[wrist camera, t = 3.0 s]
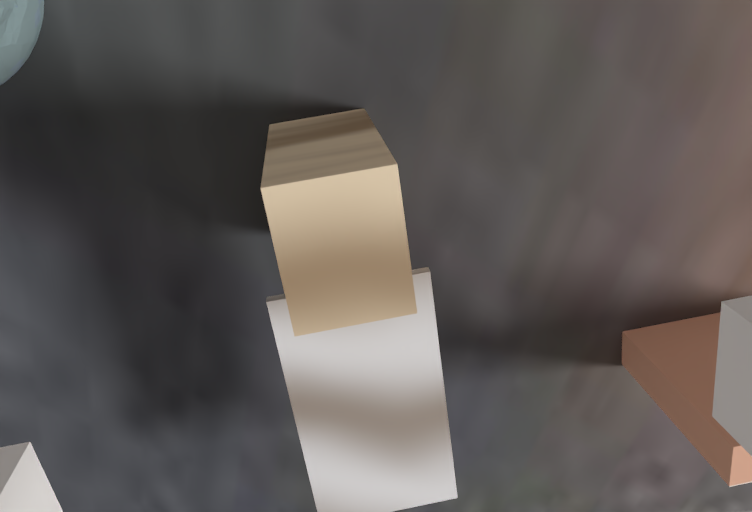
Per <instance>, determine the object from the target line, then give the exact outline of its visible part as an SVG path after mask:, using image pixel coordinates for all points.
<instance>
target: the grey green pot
mask: <svg viewBox="0 0 752 512" xmlns="http://www.w3.org/2000/svg"><path fill="white" fill-rule="evenodd" d="M43 15H44V0H0V85H1V84H3V83H5V82H6V81H7V80H8V79H9V78H11V77H12V76H13V75H14V74H15V73H16V72H17V71H18V70H19V69H20V68H21V66H22V65H23V64H24V63H25V62H26V60H27V59H28V58H29V56H30V54H31V52H32V50H33V48H34V46H35V44H36V42H37V40H38V36H39V33H40V29H41V26H42V20H43Z"/></svg>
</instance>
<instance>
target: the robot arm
mask: <svg viewBox="0 0 752 512" xmlns="http://www.w3.org/2000/svg"><path fill="white" fill-rule="evenodd" d="M712 417H713V418H714V419H715V420H716V421H717V422H718V423H719V424H720V425H721V426H722V427H723V428H724V429H725V430H726V431H727V432H728V433H729V434H730V435H731V436H732V437H733V438H734V439H735V440H736V441H737V442H738V443H739V444H740V445H741V446H742V447H743V448H744V449H745V450H746V451H747V452H748V453H749V454H750V455H751V456H752V295H751V296H746V297H741V298H736V299H731V300H726V301H721V313H720V325H719V337H718V350H717V362H716V374H715V386H714V398H713V410H712ZM0 512H63V511H62V509H61V506H60V504H59V502H58V500H57V498H56V496H55V494H54V492H53V490H52V487H51V485H50V483H49V481H48V479H47V477H46V475H45V473H44V470H43V468H42V466H41V464H40V462H39V460H38V458H37V456H36V454H35V451H34V449H33V447H32V445H31V443H30V442H26V443H21V444H16V445H11V446H6V447H1V448H0Z"/></svg>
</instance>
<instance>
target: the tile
mask: <svg viewBox="0 0 752 512" xmlns="http://www.w3.org/2000/svg"><path fill="white" fill-rule="evenodd" d="M720 313H721V312H720ZM720 313H715V314H710V315H705V316H699V317H694V318H689V319H684V320H679V321H674V322H669V323H664V324H659V325H653V326H648V327H643V328H638V329H633V330H628V331H623V332H622V365H623V366H624V367H625V368H626V369H627V370H628V371H629V373H630V374H631V375H632V376H633V377H634V378H635V379H636V381H637V382H638V383H639V384H640V385H641V386H642V387H643V389H644V390H645V391H646V392H647V393H648V394H649V395H650V397H651V398H652V399H653V400H654V401H655V402H656V403H657V405H658V406H659V407H660V408H661V409H662V410H663V411H664V413H665V414H666V415H667V416H668V417H669V418H670V419H671V421H672V422H673V423H674V424H675V425H676V426H677V427H678V428H679V430H680V431H681V432H682V433H683V434H684V435H685V436H686V438H687V439H688V440H689V441H690V442H691V443H692V444H693V446H694V447H695V448H696V449H697V450H698V451H699V452H700V454H701V455H702V456H703V457H704V458H705V459H706V460H707V462H708V463H709V464H710V465H711V466H712V467H713V468H714V470H715V471H716V472H717V473H718V474H719V475H720V476H721V478H722V479H723V480H724V481H725V482H726V483H727V484H728V486H729V487H731V486H736V485H740V484H745V483H750V482H752V456H751V455H750V454H749V453H748V452H747V451H746V450H745V449H744V448H743V447H742V446H741V445H740V444H739V443H738V442H737V441H736V440H735V439H734V438H733V437H732V436H731V435H730V434H729V433H728V432H727V431H726V430H725V429H724V428H723V427H722V426H721V425H720V424H719V423H718V422H717V421H716V420H715V419H714V418H713V417H712V410H713V398H714V386H715V374H716V362H717V350H718V337H719V325H720Z"/></svg>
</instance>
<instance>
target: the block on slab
mask: <svg viewBox="0 0 752 512" xmlns="http://www.w3.org/2000/svg"><path fill="white" fill-rule="evenodd" d="M261 193H262V197H263V201H264V206H265V210H266V214H267V219H268V223H269V227H270V232H271V236H272V241H273V245H274V249H275V254H276V258H277V262H278V267H279V271H280V275H281V280H282V284H283V288H284V293H285V294H281V295H275V296H270V297H267V299H266V303H267V307H268V311H269V315H270V319H271V323H272V328H273V332H274V336H275V340H276V344H277V348H278V352H279V356H280V360H281V364H282V368H283V373H284V377H285V381H286V385H287V389H288V393H289V397H290V401H291V405H292V409H293V413H294V418H295V422H296V426H297V430H298V434H299V438H300V442H301V446H302V450H303V454H304V459H305V463H306V467H307V471H308V475H309V479H310V483H311V487H312V491H313V495H314V499H315V504H316V508H317V512H392V511H397V510H402V509H406V508H411V507H416V506H421V505H426V504H430V503H435V502H440V501H445V500H450V499H454V498H458V497H457V489H456V481H455V473H454V464H453V456H452V448H451V440H450V431H449V423H448V415H447V407H446V398H445V390H444V382H443V374H442V365H441V357H440V349H439V341H438V332H437V324H436V316H435V308H434V299H433V291H432V283H431V275H430V270H429V268H428V267H426V268H420V269H415V270H411V262H410V255H409V247H408V240H407V232H406V225H405V217H404V210H403V203H402V195H401V188H400V180H399V173H398V165H397V163H396V161H395V159H394V158H393V156H392V154H391V153H390V151H389V149H388V148H387V146H386V144H385V143H384V141H383V139H382V138H381V136H380V134H379V133H378V131H377V129H376V128H375V126H374V124H373V123H372V121H371V119H370V117H369V116H368V114H367V112H366V111H365V109H364V108H363V109H357V110H351V111H345V112H339V113H333V114H328V115H322V116H316V117H310V118H304V119H298V120H292V121H287V122H281V123H275V124H269V131H268V138H267V145H266V152H265V159H264V167H263V174H262V181H261Z"/></svg>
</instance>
